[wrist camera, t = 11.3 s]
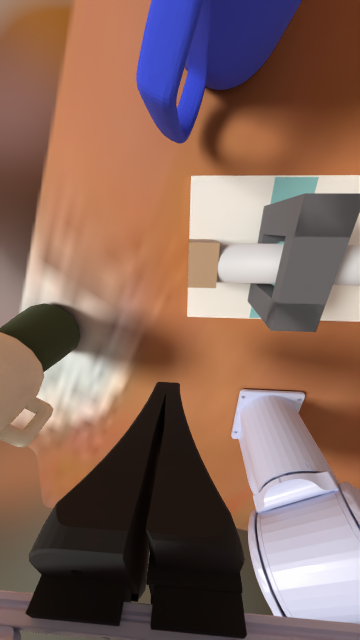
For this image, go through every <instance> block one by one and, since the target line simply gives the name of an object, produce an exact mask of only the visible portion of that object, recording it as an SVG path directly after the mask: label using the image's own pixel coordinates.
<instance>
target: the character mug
mask: <svg viewBox="0 0 360 640" xmlns="http://www.w3.org/2000/svg"><path fill="white" fill-rule="evenodd" d="M79 339H80V335H79V330H78V325H77V324H76V322H75V321H74V319H73V318H72V316H71V315H70V314H69V313H67V312H66V311H64V310H63V309H61V308H60V307H58V306H53V305H48V304H40V305H35V306H31V307H29V308H28V309H26V310H25V311H23V312H22V313H20V314H18V315H17V316H16V317H14V318H13V319H12V320H10V321H9V322H8V323H6V324H5V325H4V326H2V327H1V328H0V440H3V441H5V442H7V443H9V444H12V445H14V446H16V447H17V446H18V447H25V446H27V445H28V444H29V443H30V442H32V441H33V439H34V438H35V437H36V435H37V434H38V433H39V431H40V430H41V429H42V427H43V426H44V425H45V423H46V422H47V421H48V419H49V418H50V417H51V415H52V412H53V408H52V407H51V405H50V404H48V403H46V402H44V401H42V400H40V399H38V398H36V396H37V395H38V392H39V390H40V387H41V384H42V381H43V378H44V373H43V372H45V371H46V370H47V369H49V368H50V367H51V366H53V365H54V364H56V363H57V362H58V361H60V360H61V359H62V358H63V357H65V356H66V355H67V354H69V353H70V352H71V351H72V350H73V349H75V348H76V347H77V345H78V342H79ZM24 408H25V409H27V410H29V411H31V412H33V413H36V415H35V416H34V418H33V419H32V420H31V421H30V422H29V424H28V425H27V426H26V427H25V428H24V429H23V430H22V429H20V428H17V427H15V426H13V425H11V423H12V422H13V420H14V419H15V418H16V417H17V416H18V415H19V414H20V413H21V412H22V411H23V410H24Z"/></svg>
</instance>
